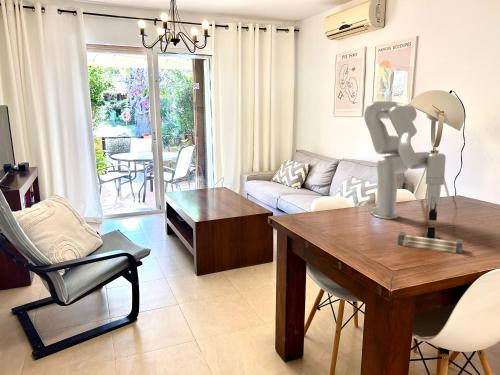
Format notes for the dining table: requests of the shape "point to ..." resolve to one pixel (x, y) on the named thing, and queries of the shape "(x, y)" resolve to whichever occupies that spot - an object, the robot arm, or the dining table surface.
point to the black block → (430, 233)
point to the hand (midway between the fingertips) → (432, 219)
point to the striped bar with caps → (430, 243)
